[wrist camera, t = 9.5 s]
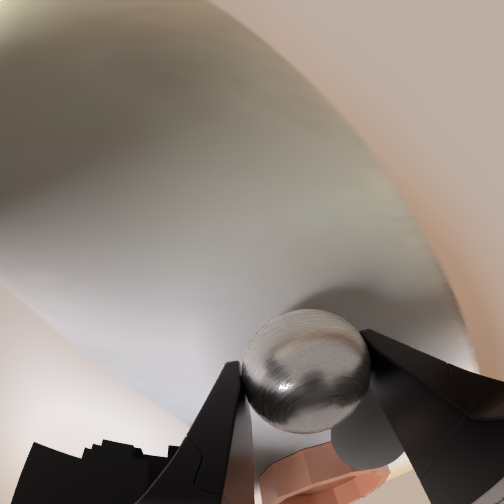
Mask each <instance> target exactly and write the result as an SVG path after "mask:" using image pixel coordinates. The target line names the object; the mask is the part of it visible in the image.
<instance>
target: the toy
mask: <svg viewBox="0 0 504 504" xmlns="http://www.w3.org/2000/svg"><path fill="white" fill-rule="evenodd" d="M179 447H180V446H169V448H168V458H167V457H159V456H151V455H145V454H143V453H142V450H141V449H140V448H134V446H133V445H128V444H122V443H117V442H112V441H108V440H103V441H102V445H101V446H100V445H96V444H93V446H92V449H88V448H85V449H84V453H83V456H82V459H81V458H77V457H74V456H71V455H68V454H65V453H62V452H59V451H56V450H54V449H51V448H48V447H46V446H43V445H40V444H38V443H35V442H34V443H33V445H32V448H31V450H30V452H29V455H28V457H27V460H26V463H25V465H24V468H23V470H22V473H21V475H20V478H19V481H18V484H17V487H16V490H15V493H14V496H13V499H12V502H11V504H135V503H136V502H137V501H138V500H139V499H140V498H141V497H142V496H143V495H144V494H145V493H146V491H147V490H148V489H149V488H150V487H151V485H152V484H153V483H154V482H155V480H156V479H157V478H158V477H159V475H160V474H161V473H162V472H163V470H164V469H165V468H166V466H167V465H168V464H169V462H170V461H171V460H172V458H173V457H174V455H175V454H176V452H177V450H178V449H179Z"/></svg>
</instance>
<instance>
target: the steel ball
mask: <svg viewBox="0 0 504 504" xmlns="http://www.w3.org/2000/svg"><path fill="white" fill-rule="evenodd" d="M370 379H371V360H370V354H369V351H368V348H367V345H366V343H365V341H364V340H363V338H362V336H361V335H360V333H359V332H358V331H357V330H356V329H355V328H354V326H353V325H352V324H350V323H349V322H348V321H346V320H345V319H344V318H342V317H340V316H338V315H336V314H334V313H331V312H328V311H324V310H319V309H299V310H294V311H290V312H287V313H284V314H282V315H280V316H278V317H276V318H274V319H272V320H271V321H269V322H268V323H267V324H265V325H264V326H263V327H262V328H261V329H260V330H259V331H258V332H257V333H256V335H255V336H254V337H253V339H252V340H251V342H250V344H249V345H248V348H247V350H246V353H245V355H244V359H243V364H242V383H243V388H244V392H245V395H246V397H247V399H248V402H249V403H250V405H251V406H252V408H253V409H254V411H255V412H256V413H257V414H258V415H259V416H260V417H261V418H262V419H263V420H264V421H266V422H267V423H269V424H270V425H272V426H274V427H276V428H278V429H280V430H283V431H286V432H291V433H296V434H310V433H318V432H322V431H325V430H328V429H331V428H333V427H335V426H337V425H338V424H340V423H342V422H343V421H344V420H346V419H347V418H348V417H349V416H350V415H352V414H353V413H354V411H355V410H356V409H357V408H358V406H359V405H360V404H361V402H362V401H363V399H364V397H365V395H366V392H367V390H368V387H369V383H370Z"/></svg>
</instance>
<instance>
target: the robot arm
mask: <svg viewBox="0 0 504 504" xmlns="http://www.w3.org/2000/svg"><path fill="white" fill-rule="evenodd" d="M359 333H360V335H361V336H362V338H363V340H364V341H365V343H366V345H367V348H368V351H369V354H370V360H371V379H370V383H369V385H370V388H371V390H372V392H373V394H374V396H375V397H376V399H377V401H378V403H379V405H380V406H381V408H382V410H383V412H384V414H385V415H386V417H387V419H388V421H389V423H390V425H391V426H392V428H393V430H394V432H395V434H396V436H397V438H398V439H399V441H400V443H401V445H402V447H403V449H404V451H405V453H406V455H407V457H408V458H409V460H410V462H411V464H412V466H413V468H414V470H415V472H416V474H417V476H418V478H419V480H420V482H421V484H422V486H423V488H424V490H425V492H426V494H427V496H428V498H429V500H430V502H431V504H504V382H503V381H499V380H496V379H492V378H489V377H485V376H482V375H479V374H476V373H472V372H469V371H467V370H464V369H461V368H459V367H456V366H454V365H452V364H449V363H448V364H447V362H444V361H442V360H440V359H437V358H435V357H433V356H430V355H428V354H426V353H423V352H421V351H419V350H416V349H414V348H412V347H409V346H407V345H405V344H403V343H400V342H398V341H396V340H393V339H391V338H389V337H387V336H384V335H382V334H380V333H378V332H375V331H373V330H371V329H365V330H362V331H359ZM135 504H255V503H254V478H253V451H252V425H251V416H250V410H249V404H248V399H247V397H246V395H245V392H244V388H243V383H242V370H241V366H240V363H239V361H231V362H227V363H226V364H225V366H224V368H223V370H222V371H221V373H220V375H219V377H218V379H217V381H216V383H215V384H214V386H213V388H212V390H211V392H210V394H209V395H208V397H207V399H206V401H205V403H204V405H203V406H202V408H201V410H200V412H199V414H198V415H197V417H196V419H195V421H194V423H193V424H192V426H191V428H190V430H189V432H188V433H187V437H185V439H184V440H183V442H182V444H181V446H180V447H179V449H178V450H177V452H176V454H175V455H174V457H173V458H172V460H171V461H170V462H169V464H168V465H167V466H166V468H165V469H164V470H163V472H162V473H161V474H160V475H159V477H158V478H157V479H156V480H155V482H154V483H153V484H152V485H151V487H150V488H149V489H148V490H147V491H146V493H145V494H144V495H143V496H142V497H141V498H140V499H139V500H138V501H137V502H136V503H135Z"/></svg>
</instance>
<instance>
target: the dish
mask: <svg viewBox="0 0 504 504" xmlns="http://www.w3.org/2000/svg"><path fill="white" fill-rule="evenodd" d="M389 474H390V470H389V468H388V466H387V465H385V466H383V467H380V468H376V469H358V468H355V467H352V466H350V465H348V464H346V463H345V462H343V461H342V460H341V459H340V458H339V457H338V456H337V454H336V453H335V451H334V449H333V446H332V443H331V442H329V443H326V444H322V445H319V446H315V447H311V448H307V449H303V450H301V451H299V452H297V453H295V454H293V455H290V456H288V457H286V458H284V459H282V460H280V461H278V462H275V463H273V464H271V465H270V466H269V467H268V469H267V470H266V471H265V472H264V473H263V474H262V475H261V476H260V477H259V485H260V491H261V497H262V503H263V504H351V503H353V502H355V501H357V500H359V499H361V498H364V497H366V496H367V495H368V494H370V493H371V492H373V491H374V490H376V489H377V488H378V487H380V486H381V485H382V484H384V483H385V481H386V479H387V477H388V476H389Z"/></svg>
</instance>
